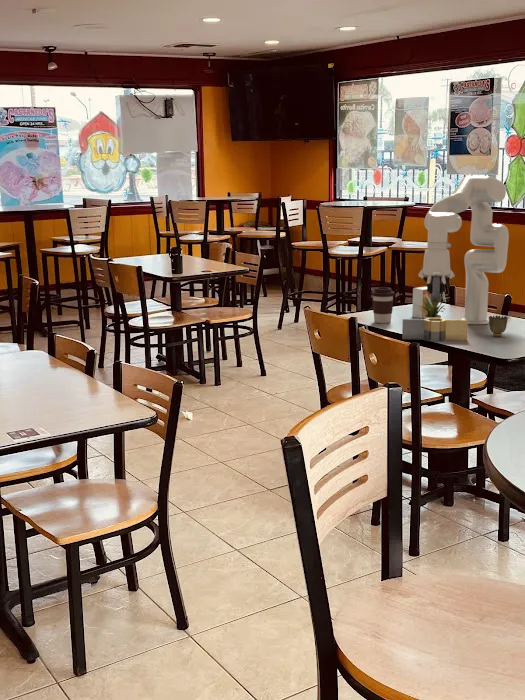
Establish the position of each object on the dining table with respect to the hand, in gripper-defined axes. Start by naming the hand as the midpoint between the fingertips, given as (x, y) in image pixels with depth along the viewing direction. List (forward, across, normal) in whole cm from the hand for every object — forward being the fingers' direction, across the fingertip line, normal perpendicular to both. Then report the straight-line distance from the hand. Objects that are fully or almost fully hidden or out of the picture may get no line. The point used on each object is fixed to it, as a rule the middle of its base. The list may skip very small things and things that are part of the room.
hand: (435, 293), depth 339 cm
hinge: (+19, 0, 0) cm, 19 cm away
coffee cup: (+19, +21, -35) cm, 45 cm away
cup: (+19, -25, -8) cm, 32 cm away
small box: (+19, +3, -50) cm, 54 cm away
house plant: (+19, -1, -18) cm, 26 cm away
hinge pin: (+3, 0, 0) cm, 3 cm away
